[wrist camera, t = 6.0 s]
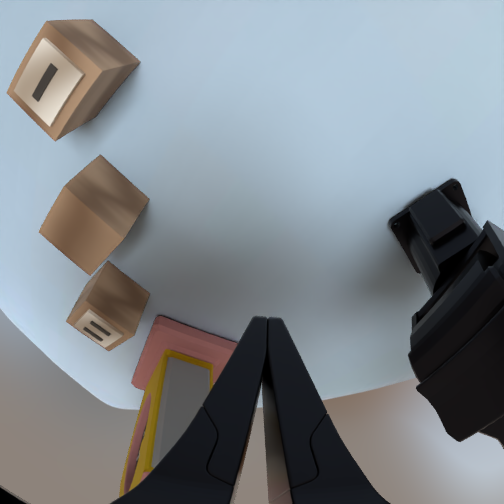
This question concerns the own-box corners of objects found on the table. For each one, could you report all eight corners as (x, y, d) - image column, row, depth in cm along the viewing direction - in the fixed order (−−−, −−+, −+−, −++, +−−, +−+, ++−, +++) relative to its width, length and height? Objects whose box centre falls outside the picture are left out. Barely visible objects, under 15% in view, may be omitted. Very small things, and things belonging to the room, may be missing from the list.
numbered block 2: (150, 292, 28) (133, 339, 23) (124, 312, 30) (107, 354, 25) (108, 260, 25) (83, 304, 21) (86, 283, 28) (64, 324, 23)
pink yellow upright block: (164, 295, 28) (102, 534, 11) (254, 329, 30) (239, 556, 13) (130, 382, 40) (98, 514, 23) (189, 401, 42) (168, 532, 25)
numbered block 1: (141, 61, 15) (98, 72, 11) (96, 116, 17) (51, 144, 13) (92, 19, 13) (41, 21, 9) (53, 76, 15) (2, 94, 11)
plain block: (149, 198, 21) (124, 238, 17) (115, 234, 24) (90, 275, 20) (101, 154, 19) (64, 185, 15) (71, 196, 21) (38, 231, 17)
